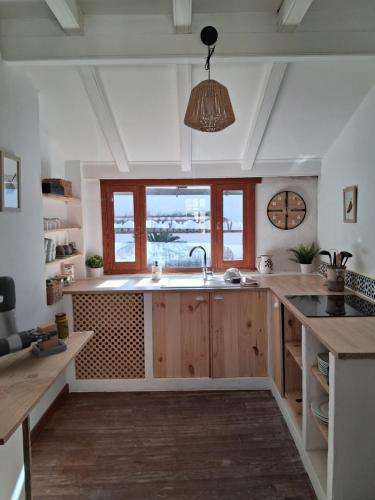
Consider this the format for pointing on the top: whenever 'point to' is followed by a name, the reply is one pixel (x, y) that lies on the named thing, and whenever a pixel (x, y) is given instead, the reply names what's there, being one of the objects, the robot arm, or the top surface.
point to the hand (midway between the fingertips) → (51, 330)
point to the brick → (54, 340)
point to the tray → (40, 353)
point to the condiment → (62, 325)
